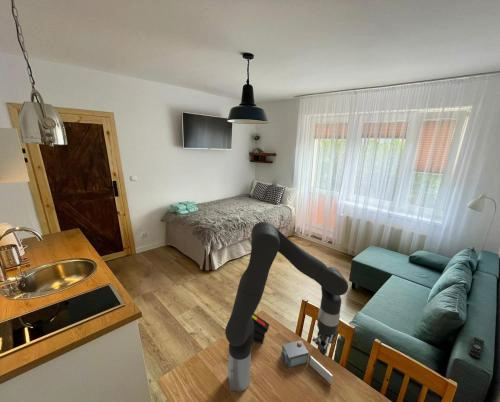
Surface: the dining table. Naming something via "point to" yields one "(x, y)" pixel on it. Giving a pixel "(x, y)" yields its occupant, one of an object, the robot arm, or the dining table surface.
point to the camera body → (294, 353)
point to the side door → (320, 369)
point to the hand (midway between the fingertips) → (323, 352)
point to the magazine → (259, 329)
